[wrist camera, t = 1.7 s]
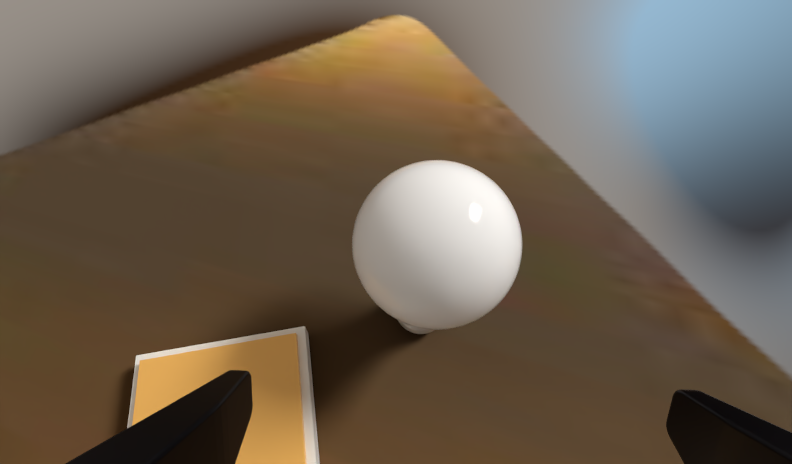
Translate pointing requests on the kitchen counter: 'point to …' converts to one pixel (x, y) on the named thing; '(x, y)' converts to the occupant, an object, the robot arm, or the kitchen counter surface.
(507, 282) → the lightbulb
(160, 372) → the control panel
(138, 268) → the kitchen counter surface
